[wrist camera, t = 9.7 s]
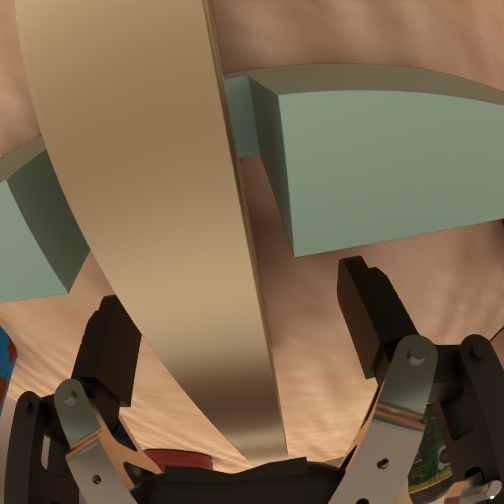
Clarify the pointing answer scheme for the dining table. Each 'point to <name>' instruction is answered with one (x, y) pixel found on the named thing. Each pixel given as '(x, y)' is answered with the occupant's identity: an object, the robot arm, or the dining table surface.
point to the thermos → (6, 364)
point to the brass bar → (160, 192)
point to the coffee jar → (430, 464)
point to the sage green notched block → (303, 165)
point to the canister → (179, 459)
